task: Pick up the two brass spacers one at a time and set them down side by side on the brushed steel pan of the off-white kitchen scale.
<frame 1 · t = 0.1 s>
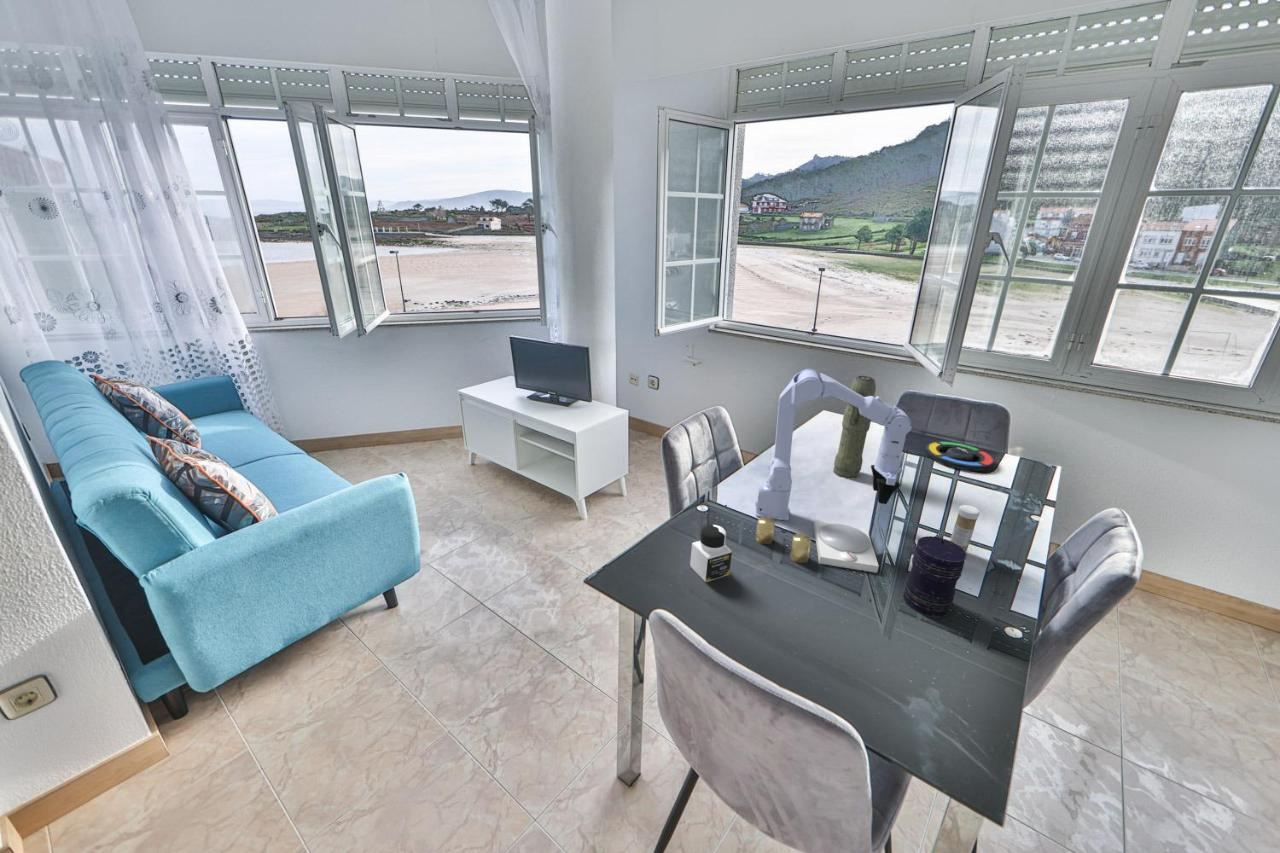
hand: (879, 496, 148), 10 cm above the table, tool pointing down, fingers open, 7 cm apart
thermos: (846, 473, 185), on the table
spacer a: (763, 540, 143), on the table
sprinkles bottle: (956, 552, 141), on the table
electronic game: (957, 461, 200), on the table
storage jar: (925, 603, 121), on the table
spacer b: (798, 558, 136), on the table
medicine bottle: (709, 571, 129), on the table
kitchen scale: (843, 548, 141), on the table
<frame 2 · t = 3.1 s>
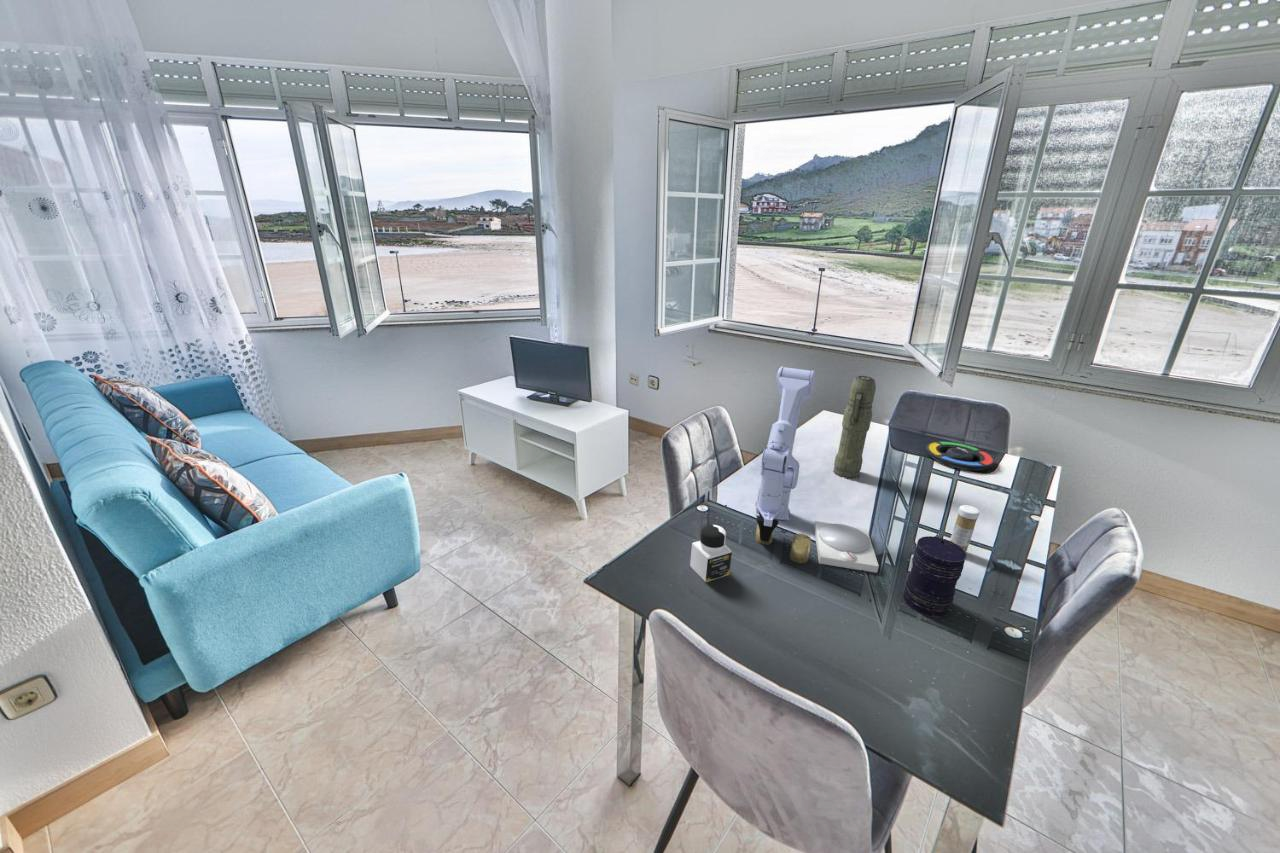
hand: (764, 535, 143), 1 cm above the table, tool pointing down, fingers closed on spacer a, 4 cm apart
spacer a: (763, 539, 143), on the table, touching gripper
everything else where it was.
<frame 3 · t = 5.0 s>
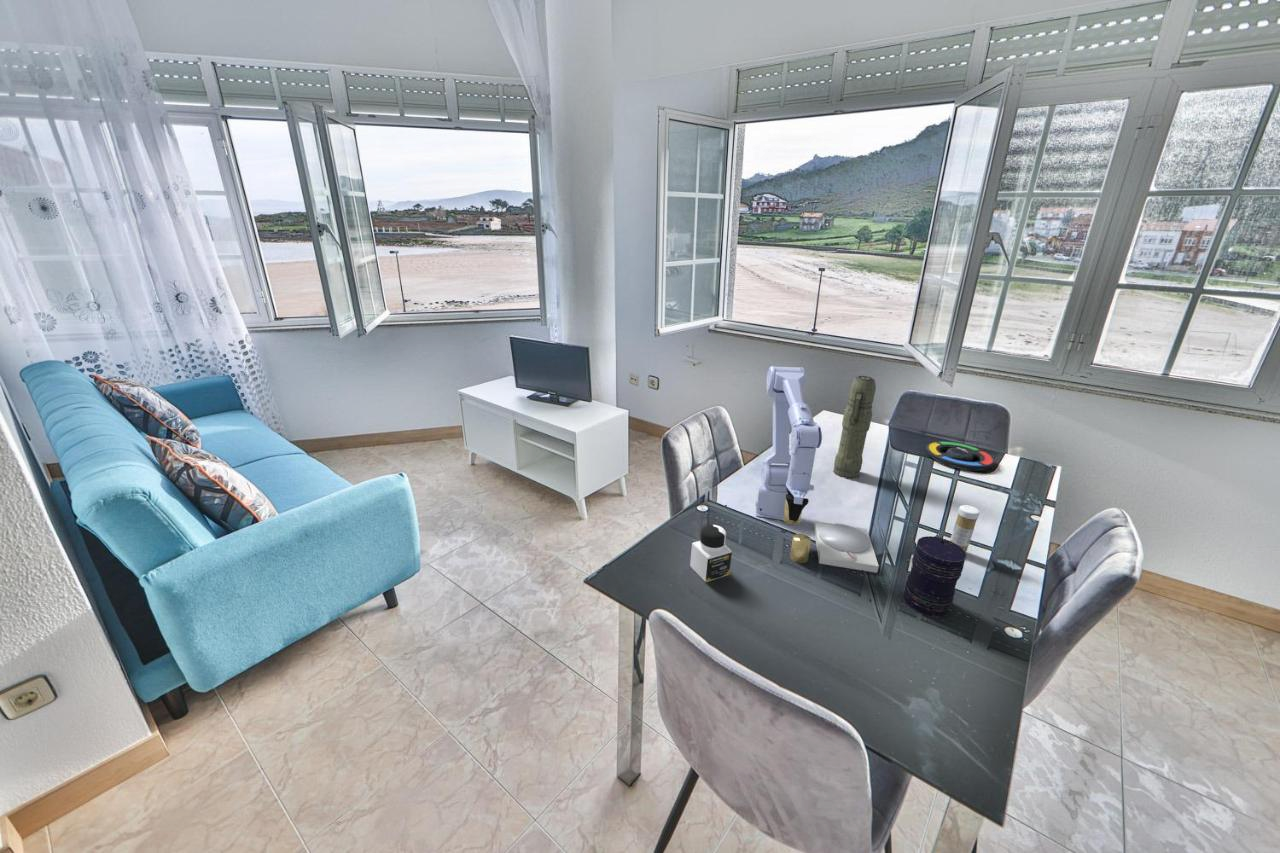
hand: (793, 515, 140), 8 cm above the table, tool pointing down, fingers closed on spacer a, 4 cm apart
spacer a: (791, 520, 140), point 7 cm above the table, touching gripper
everything else where it was.
when the fingers open (5 cm above the table, at t = 7.1 s): spacer a stays where it is, resting on kitchen scale.
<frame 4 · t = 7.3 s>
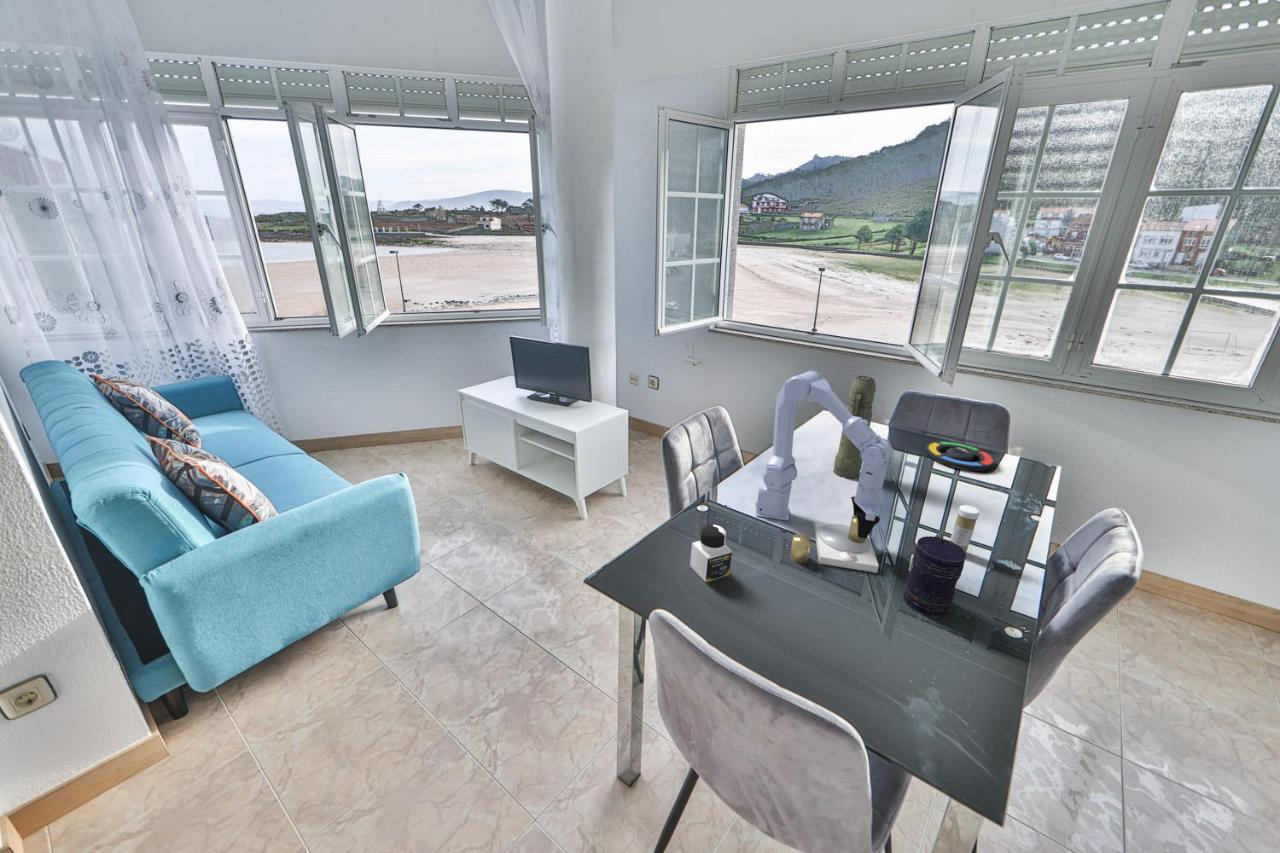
hand: (860, 530, 140), 5 cm above the table, tool pointing down, fingers open, 6 cm apart
spacer a: (856, 538, 140), point 3 cm above the table, touching kitchen scale
everything else where it was.
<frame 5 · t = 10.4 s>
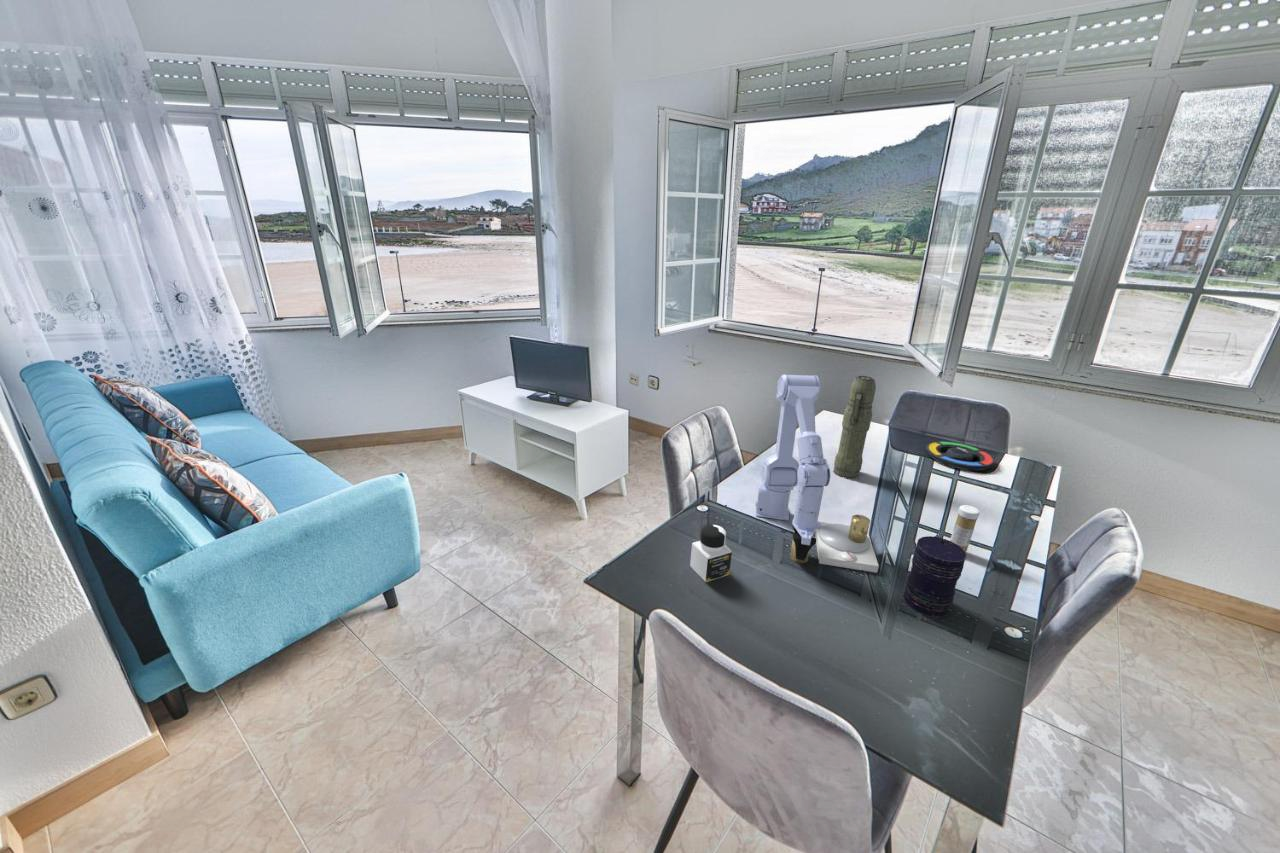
hand: (799, 553, 135), 1 cm above the table, tool pointing down, fingers closed on spacer b, 4 cm apart
spacer b: (798, 558, 136), on the table, touching gripper
everything else where it was.
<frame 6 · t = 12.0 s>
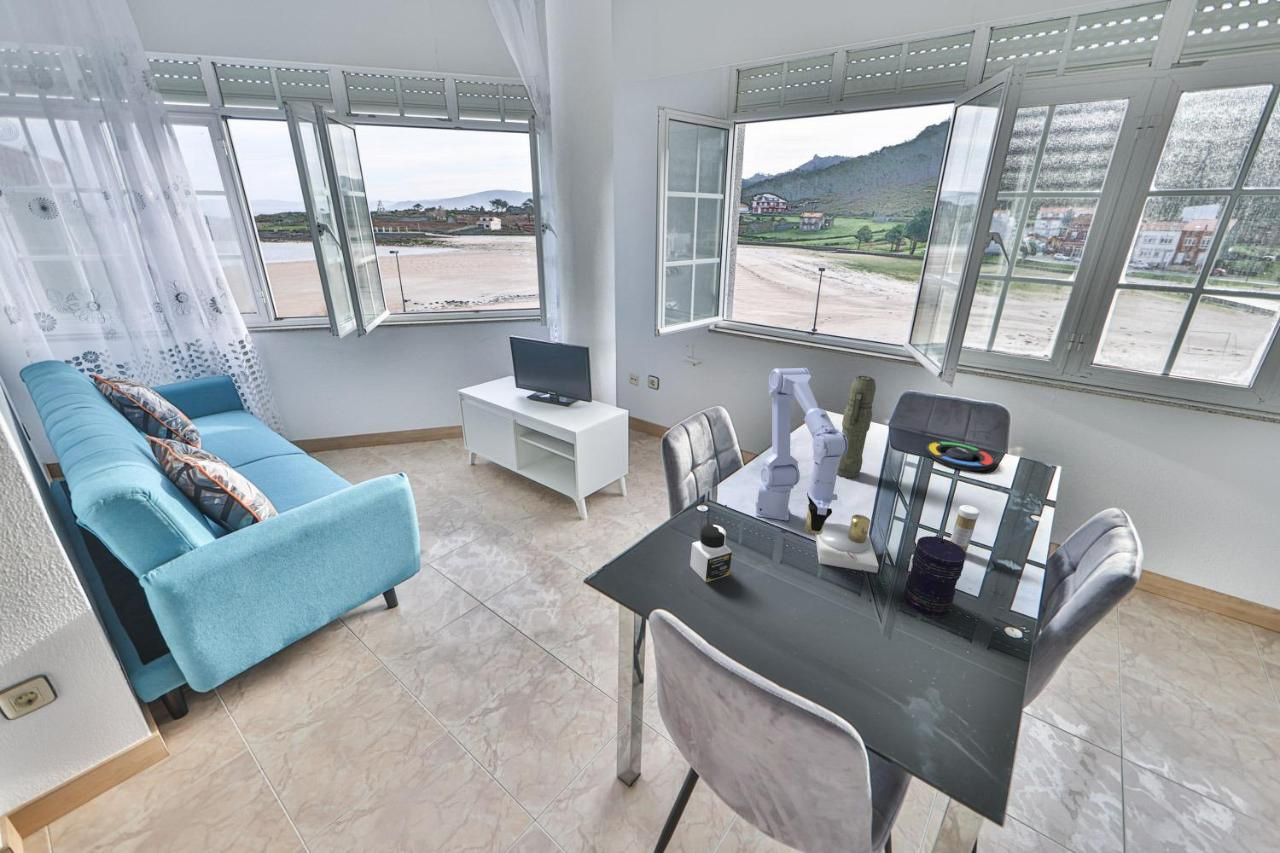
hand: (814, 525, 135), 8 cm above the table, tool pointing down, fingers closed on spacer b, 4 cm apart
spacer b: (813, 530, 136), point 7 cm above the table, touching gripper
everything else where it was.
when the fingers open (5 cm above the table, at t = 13.5 s): spacer b drops 1 cm, resting on kitchen scale.
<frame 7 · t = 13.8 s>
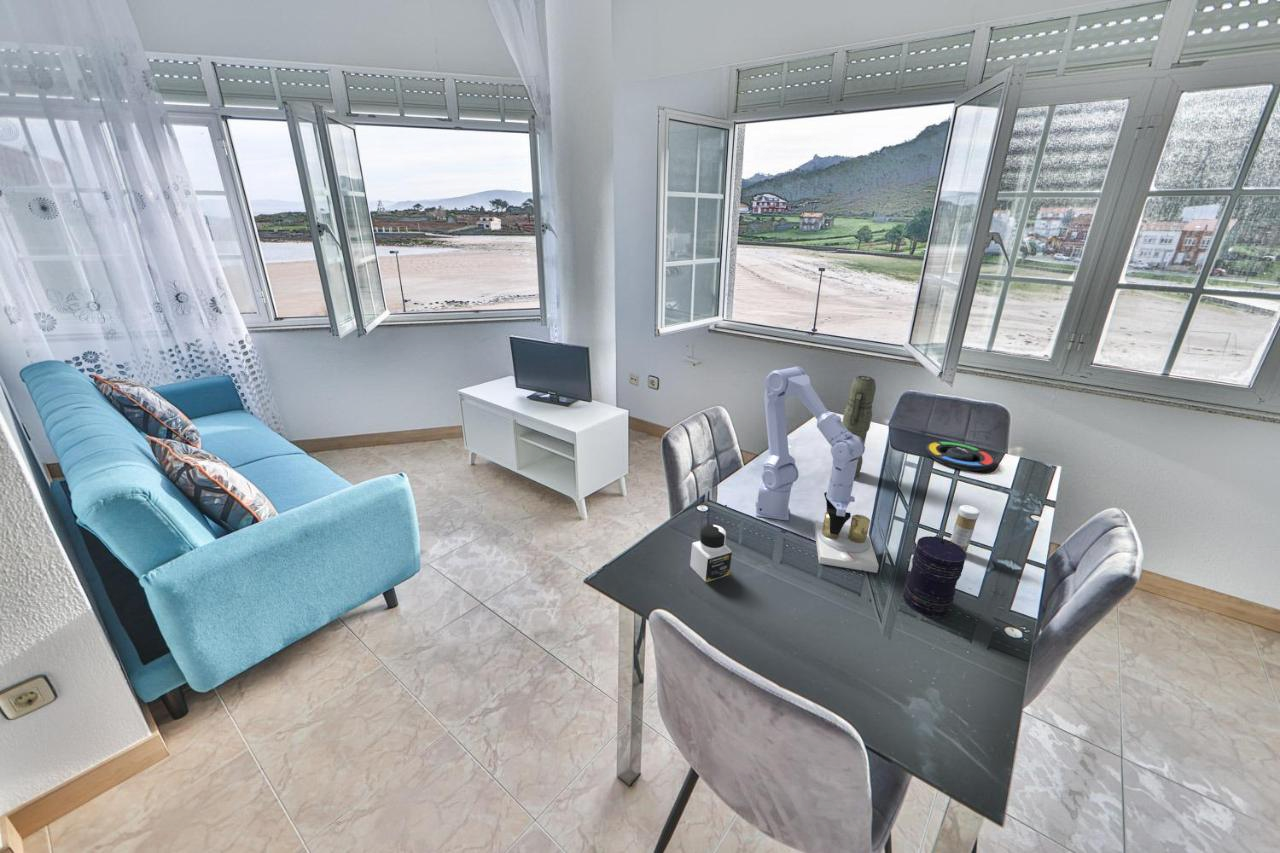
hand: (832, 526, 141), 5 cm above the table, tool pointing down, fingers open, 7 cm apart
spacer b: (830, 534, 142), point 3 cm above the table, touching kitchen scale
everything else where it was.
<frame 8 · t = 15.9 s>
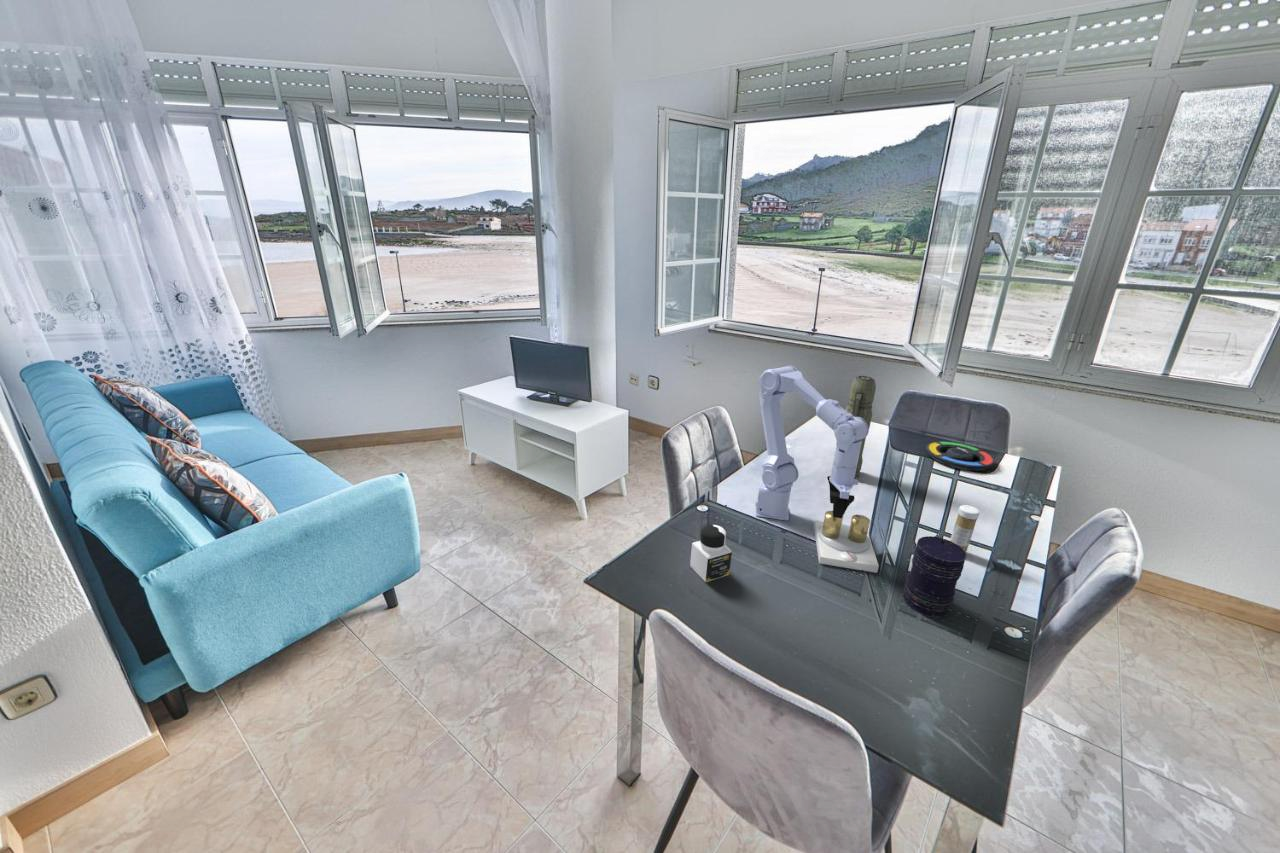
hand: (835, 510, 139), 10 cm above the table, tool pointing down, fingers open, 7 cm apart
nothing on the table moved.
at the end: spacer a inside the target area on the kitchen scale (3.2 cm from its centre), point 2.8 cm above the kitchen scale's base; spacer b inside the target area on the kitchen scale (3.6 cm from its centre), point 2.8 cm above the kitchen scale's base; the gripper is holding nothing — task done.
